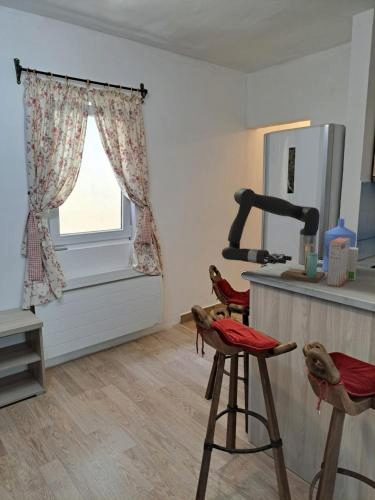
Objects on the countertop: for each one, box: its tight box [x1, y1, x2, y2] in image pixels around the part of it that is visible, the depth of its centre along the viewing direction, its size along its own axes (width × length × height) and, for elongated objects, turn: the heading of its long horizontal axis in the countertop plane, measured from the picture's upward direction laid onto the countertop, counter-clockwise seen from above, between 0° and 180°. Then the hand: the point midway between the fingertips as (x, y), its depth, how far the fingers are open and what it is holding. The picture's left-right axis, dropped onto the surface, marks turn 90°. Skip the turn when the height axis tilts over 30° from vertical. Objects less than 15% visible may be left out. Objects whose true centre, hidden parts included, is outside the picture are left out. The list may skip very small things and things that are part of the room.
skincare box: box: [347, 246, 359, 281], centre depth 179 cm, size 8×7×16 cm
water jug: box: [322, 218, 357, 273], centre depth 193 cm, size 16×16×28 cm
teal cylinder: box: [306, 252, 319, 278], centre depth 174 cm, size 5×5×12 cm
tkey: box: [302, 243, 314, 274], centre depth 182 cm, size 5×10×14 cm, turn 159°
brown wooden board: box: [279, 268, 326, 284], centre depth 182 cm, size 15×18×2 cm
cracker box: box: [327, 238, 351, 287], centre depth 170 cm, size 14×6×21 cm, turn 141°
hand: (288, 260), depth 180 cm, fingers open, 8 cm apart
